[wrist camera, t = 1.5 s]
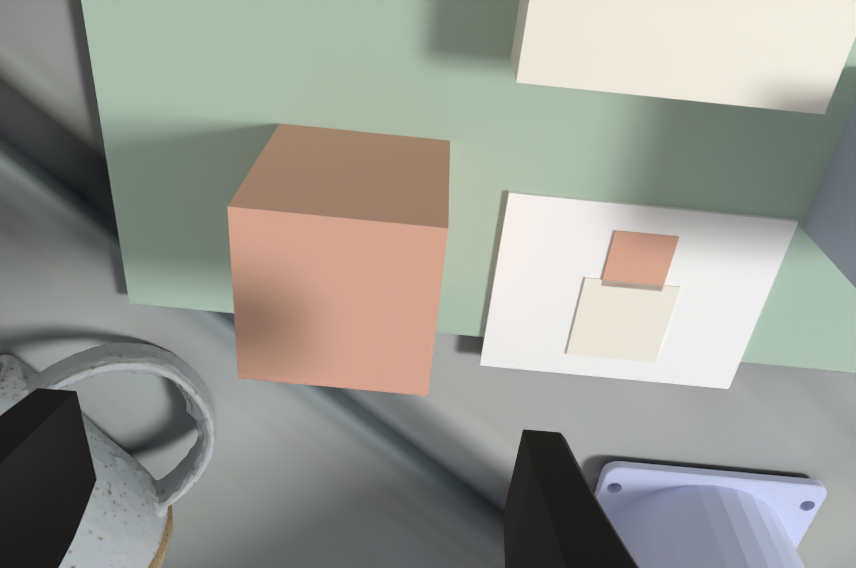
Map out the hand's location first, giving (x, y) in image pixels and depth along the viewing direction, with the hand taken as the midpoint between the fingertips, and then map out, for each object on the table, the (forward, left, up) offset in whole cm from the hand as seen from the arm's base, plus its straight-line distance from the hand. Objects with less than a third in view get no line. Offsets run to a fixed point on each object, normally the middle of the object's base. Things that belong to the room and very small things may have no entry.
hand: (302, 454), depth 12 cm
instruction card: (-2, -8, -10) cm, 13 cm away
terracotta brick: (0, 0, -10) cm, 10 cm away
